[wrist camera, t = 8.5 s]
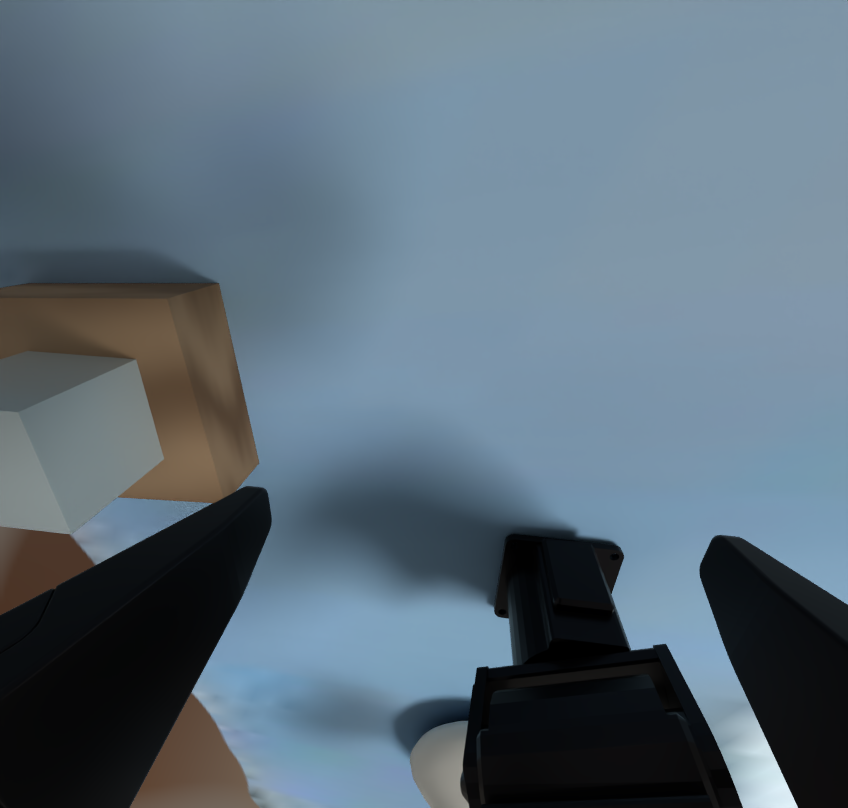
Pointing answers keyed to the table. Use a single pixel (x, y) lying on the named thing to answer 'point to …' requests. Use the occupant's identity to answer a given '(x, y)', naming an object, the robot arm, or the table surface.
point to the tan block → (152, 370)
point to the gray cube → (70, 437)
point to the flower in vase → (440, 765)
